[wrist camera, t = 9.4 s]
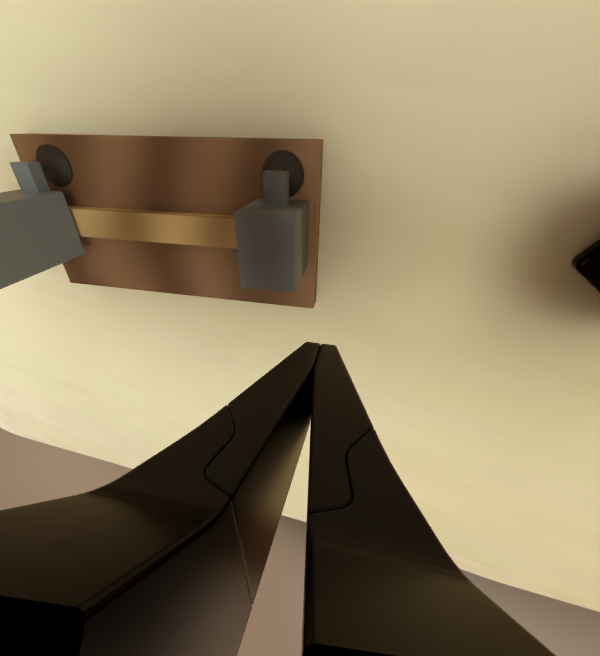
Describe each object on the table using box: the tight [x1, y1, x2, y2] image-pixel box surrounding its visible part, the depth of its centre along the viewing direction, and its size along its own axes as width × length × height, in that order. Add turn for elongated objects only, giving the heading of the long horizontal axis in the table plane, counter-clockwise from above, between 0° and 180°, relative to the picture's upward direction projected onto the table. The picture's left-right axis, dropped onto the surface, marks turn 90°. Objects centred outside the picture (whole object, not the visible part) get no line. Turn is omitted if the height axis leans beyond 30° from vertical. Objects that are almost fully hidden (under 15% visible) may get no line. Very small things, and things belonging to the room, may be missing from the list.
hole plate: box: [10, 134, 323, 308], centre depth 19 cm, size 20×10×5 cm, turn 89°
